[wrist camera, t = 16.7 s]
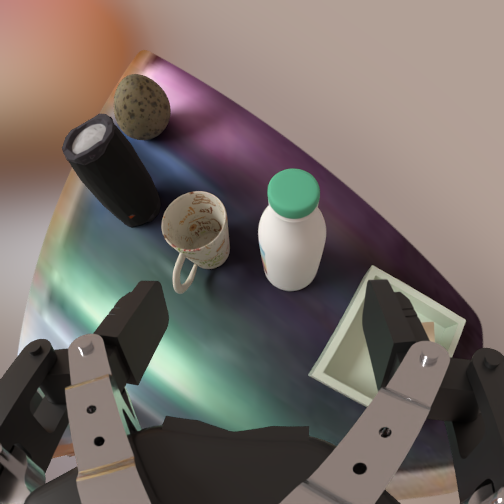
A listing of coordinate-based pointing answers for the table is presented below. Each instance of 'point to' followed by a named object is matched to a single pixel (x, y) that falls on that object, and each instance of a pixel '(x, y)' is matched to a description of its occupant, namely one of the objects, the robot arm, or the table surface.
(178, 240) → the mug
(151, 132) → the decorative egg
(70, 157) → the portable speaker
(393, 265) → the table surface
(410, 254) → the table surface
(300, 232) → the milk bottle
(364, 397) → the bin
